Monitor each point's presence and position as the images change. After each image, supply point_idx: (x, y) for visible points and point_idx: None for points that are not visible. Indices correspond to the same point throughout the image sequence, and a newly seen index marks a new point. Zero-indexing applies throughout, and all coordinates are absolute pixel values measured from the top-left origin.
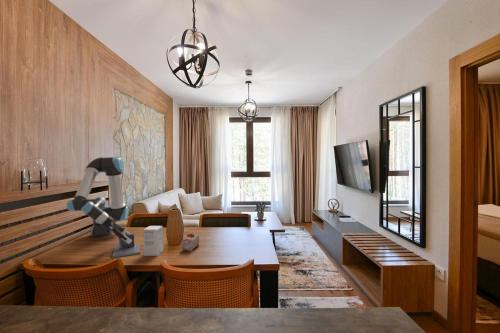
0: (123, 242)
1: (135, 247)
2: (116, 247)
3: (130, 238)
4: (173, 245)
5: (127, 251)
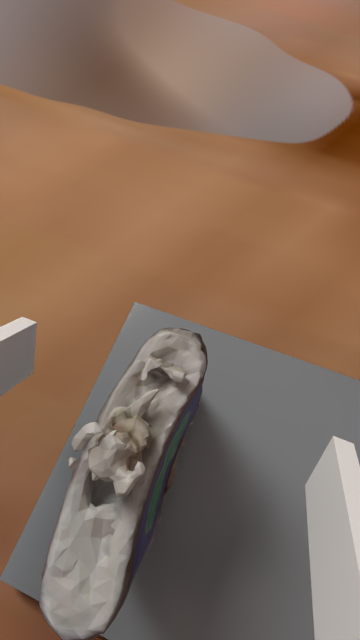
0: (152, 516)
1: (225, 380)
2: (31, 556)
3: (191, 406)
4: (356, 132)
5: None
